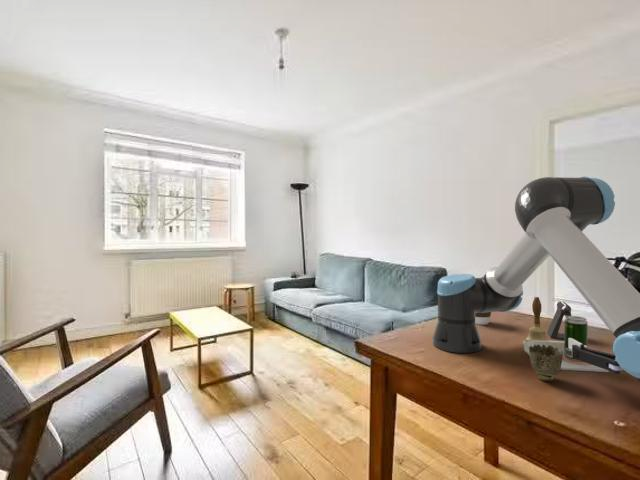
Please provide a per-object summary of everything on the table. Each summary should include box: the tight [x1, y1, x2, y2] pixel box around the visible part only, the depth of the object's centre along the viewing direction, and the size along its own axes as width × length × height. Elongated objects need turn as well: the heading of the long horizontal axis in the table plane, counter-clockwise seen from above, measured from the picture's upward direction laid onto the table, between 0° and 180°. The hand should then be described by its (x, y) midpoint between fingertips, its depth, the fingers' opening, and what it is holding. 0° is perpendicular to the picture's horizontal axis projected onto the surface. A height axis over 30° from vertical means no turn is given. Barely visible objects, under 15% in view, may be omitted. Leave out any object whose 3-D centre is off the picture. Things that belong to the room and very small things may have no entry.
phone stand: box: [546, 301, 572, 340], centre depth 121 cm, size 9×6×12 cm, turn 66°
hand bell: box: [522, 296, 549, 345], centre depth 114 cm, size 8×8×16 cm
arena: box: [523, 339, 610, 373], centre depth 101 cm, size 16×14×4 cm
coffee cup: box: [475, 312, 492, 326], centre depth 141 cm, size 11×11×12 cm
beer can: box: [563, 315, 589, 362], centre depth 100 cm, size 5×5×12 cm
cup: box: [529, 345, 563, 382], centre depth 89 cm, size 8×7×8 cm
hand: (597, 343), depth 90 cm, fingers open, 13 cm apart
